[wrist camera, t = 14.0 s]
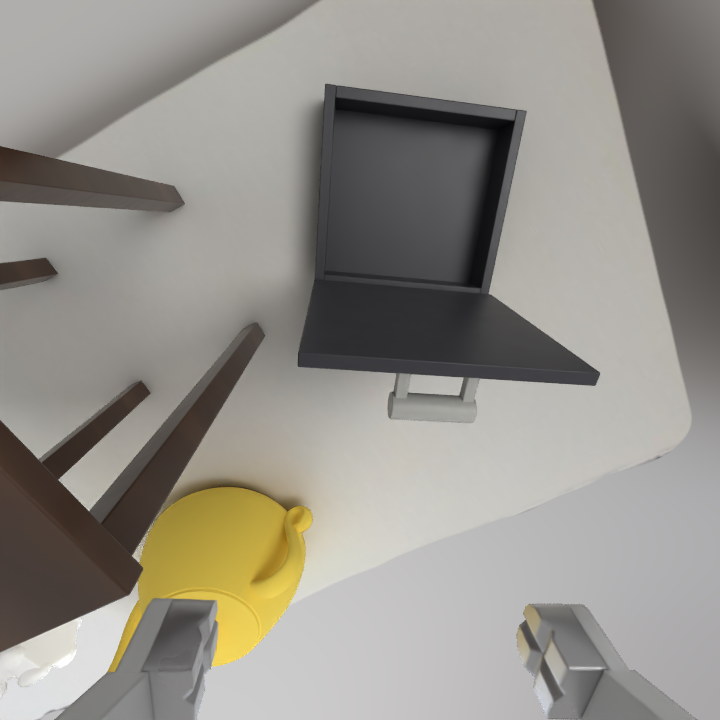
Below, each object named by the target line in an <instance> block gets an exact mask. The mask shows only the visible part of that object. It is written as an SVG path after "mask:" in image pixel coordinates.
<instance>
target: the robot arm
mask: <svg viewBox="0 0 720 720" xmlns="http://www.w3.org/2000/svg"><path fill="white" fill-rule="evenodd" d="M217 611H218V606H217V600H198V599H175V598H153V599H152V601H151V602H150V603H149V604H148V606H147V608H146V610H145V612H144V614H143V616H142V618H141V620H140V622H139V624H138V626H137V628H136V630H135V632H134V634H133V636H132V638H131V640H130V642H129V644H128V646H127V648H126V650H125V652H124V654H123V656H122V658H121V660H120V662H119V664H118V666H117V668H116V670H115V672H107V673H106V674H105V675H104V676H103V677H102V678H101V679H99V680H98V681H97V682H96V683H95V684H94V685H93V686H92V687H90V688H89V689H88V690H87V691H86V692H85V693H84V694H83V695H81V696H80V697H79V698H78V699H77V700H76V701H75V702H74V703H72V704H71V705H70V706H69V707H68V708H67V709H66V710H65V711H64V712H63V713H61V714H60V715H59V716H58V717H57V718H56V719H55V720H196V719H197V716H198V712H199V709H200V705H201V702H202V698H203V695H204V691H205V680H204V675H205V674H206V673H207V672H208V671H209V670H210V669H211V666H212V662H213V659H214V655H215V650H216V644H217V638H218V622H217V621H216V620H215V618H216V614H217ZM523 614H524V616H525V618H526V620H525V621H524V622H523V623H522V624H520V625H519V628H518V631H517V647H518V651H519V655H520V657H521V660H522V662H523V665H524V667H525V668H526V669H527V670H528V671H529V672H530V673H531V674H532V675H533V676H534V677H535V679H534V685H533V688H534V690H535V692H536V695H537V697H538V699H539V702H540V704H541V706H542V709H543V711H544V713H545V715H546V717H547V719H571V720H697V719H696V718H694V717H693V716H692V715H691V714H689V713H688V712H687V711H685V710H684V709H683V708H682V707H681V706H679V705H678V704H677V703H675V702H674V701H673V700H672V699H670V698H669V697H668V696H667V695H665V694H664V693H663V692H662V691H660V690H659V689H658V688H657V687H655V686H654V685H653V684H652V683H650V682H649V681H648V680H647V679H645V678H644V677H643V676H642V675H640V674H639V673H638V672H637V671H635V670H629V669H628V667H627V666H626V664H625V663H624V661H623V660H622V658H621V657H620V655H619V654H618V652H617V651H616V649H615V648H614V646H613V645H612V643H611V642H610V640H609V639H608V637H607V636H606V634H605V633H604V632H603V630H602V629H601V627H600V626H599V624H598V623H597V621H596V620H595V618H594V617H593V615H592V614H591V612H590V611H589V609H588V608H587V607H585V606H584V605H580V604H529V605H527V606H526V607H525V610H524V613H523Z"/></svg>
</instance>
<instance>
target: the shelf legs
mask: <svg viewBox="0 0 720 720" xmlns="http://www.w3.org/2000/svg"><path fill="white" fill-rule="evenodd" d="M0 201H6V202H22V203H37V204H53V205H68V206H84V207H99V208H114V209H130V210H145V211H161V212H171V211H173V210H175V209H176V208H178V207H180V206H182V205H184V204H185V203H184V202H183V200H182V198H181V197H180V195H179V193H178V192H177V190H176V188H175V187H174V186H171V185H167V184H163V183H158V182H154V181H149V180H145V179H141V178H136V177H132V176H128V175H123V174H119V173H115V172H110V171H106V170H101V169H97V168H93V167H88V166H84V165H80V164H75V163H71V162H67V161H62V160H58V159H53V158H49V157H45V156H40V155H36V154H32V153H27V152H23V151H18V150H14V149H10V148H5V147H1V146H0ZM57 274H58V273H57V272H56V271H55V269H54V268H53V267H52V265H51V264H50V263H49V261H48V260H47V259H46V258H41V259H33V260H24V261H16V262H8V263H0V290H4V289H9V288H14V287H19V286H24V285H29V284H34V283H39V282H44V281H46V280H48V279H49V278H51V277H53V276H55V275H57ZM264 337H265V335H264V333H263V331H262V330H261V328H260V327H259V325H258V323H254V324H252V325H250V326H248V327H246V328H244V329H243V330H242V331H241V332H240V334H239V335H238V336H237V337H236V338H235V340H234V341H233V342H232V343H231V344H230V345H229V347H228V348H227V349H226V350H225V351H224V353H223V354H222V355H221V356H220V357H219V358H218V360H217V361H216V362H215V363H214V364H213V366H212V367H211V368H210V369H209V370H208V371H207V373H206V374H205V375H204V376H203V377H202V379H201V380H200V381H199V382H198V383H197V384H196V386H195V387H194V388H193V389H192V390H191V392H190V393H189V394H188V395H187V396H186V397H185V399H184V400H183V401H182V402H181V403H180V405H179V406H178V407H177V408H176V409H175V410H174V412H173V413H172V414H171V415H170V416H169V418H168V419H167V420H166V421H165V422H164V423H163V425H162V426H161V427H160V428H159V429H158V431H157V432H156V433H155V434H154V435H153V437H152V438H151V439H150V440H149V441H148V442H147V444H146V445H145V446H144V447H143V448H142V450H141V451H140V452H139V453H138V454H137V455H136V457H135V458H134V459H133V460H132V461H131V463H130V464H129V465H128V466H127V467H126V468H125V470H124V471H123V472H122V473H121V474H120V476H119V477H118V478H117V479H116V480H115V481H114V483H113V484H112V485H111V486H110V487H109V489H108V490H107V491H106V492H105V493H104V494H103V496H102V497H101V498H100V499H99V500H98V502H97V503H96V504H95V505H94V506H93V507H92V509H91V510H90V511H89V512H90V513H91V514H92V515H93V516H94V517H95V518H96V519H97V520H98V522H99V523H100V524H101V525H102V526H103V527H104V528H105V529H106V530H107V531H108V532H109V533H110V534H111V535H112V536H113V537H114V538H115V539H116V540H117V541H118V542H119V543H120V544H121V545H122V546H123V547H124V548H125V549H126V550H127V551H128V552H129V554H130V555H131V556H132V555H133V553H134V552H135V550H136V548H137V547H138V545H139V543H140V542H141V540H142V538H143V537H144V535H145V533H146V532H147V530H148V528H149V527H150V525H151V524H152V522H153V520H154V519H155V517H156V515H157V514H158V512H159V510H160V509H161V507H162V505H163V504H164V502H165V500H166V499H167V497H168V495H169V494H170V492H171V490H172V489H173V487H174V485H175V484H176V482H177V481H178V479H179V477H180V476H181V474H182V472H183V471H184V469H185V467H186V466H187V464H188V462H189V461H190V459H191V457H192V456H193V454H194V452H195V451H196V449H197V447H198V446H199V444H200V442H201V441H202V439H203V438H204V436H205V434H206V433H207V431H208V429H209V428H210V426H211V424H212V423H213V421H214V419H215V418H216V416H217V414H218V413H219V411H220V409H221V408H222V406H223V404H224V403H225V401H226V399H227V398H228V396H229V395H230V393H231V391H232V390H233V388H234V386H235V385H236V383H237V381H238V380H239V378H240V376H241V375H242V373H243V371H244V370H245V368H246V366H247V365H248V363H249V361H250V360H251V358H252V356H253V355H254V353H255V351H256V350H257V348H258V347H259V345H260V343H261V342H262V340H263V338H264ZM149 394H150V392H149V390H148V389H147V388H146V387H145V385H144V384H143V383H142V381H140V382H138V383H136V384H134V385H132V386H130V387H128V388H127V389H125V390H124V391H123V392H122V393H120V394H119V395H118V396H117V397H115V398H114V399H113V400H112V401H110V402H109V403H108V404H107V405H106V406H104V407H103V408H102V409H101V410H99V411H98V412H97V413H96V414H94V415H93V416H92V417H91V418H89V419H88V420H87V421H86V422H84V423H83V424H82V425H81V426H79V427H78V428H77V429H76V430H74V431H73V432H72V433H71V434H69V435H68V436H67V437H66V438H64V439H63V440H62V441H61V442H59V443H58V444H57V445H56V446H54V447H53V448H52V449H51V450H49V451H48V452H47V453H46V454H44V455H43V456H42V457H41V458H39V459H38V460H39V461H40V462H41V463H42V464H43V465H44V466H45V467H46V468H47V469H48V470H49V471H50V472H51V473H52V474H53V475H54V476H55V477H56V478H57V479H59V478H60V477H62V476H63V475H64V474H65V473H66V472H67V471H68V470H69V469H70V468H71V467H72V466H73V465H74V464H75V463H77V462H78V461H79V460H80V459H81V458H82V457H83V456H84V455H85V454H86V453H87V452H88V451H89V450H90V449H92V448H93V447H94V446H95V445H96V444H97V443H98V442H99V441H100V440H101V439H102V438H103V437H104V436H105V435H107V434H108V433H109V432H110V431H111V430H112V429H113V428H114V427H115V426H116V425H117V424H118V423H119V422H120V421H122V420H123V419H124V418H125V417H126V416H127V415H128V414H129V413H130V412H131V411H132V410H133V409H134V408H135V407H136V406H138V405H139V404H140V403H141V402H142V401H143V400H144V399H145V398H146V397H147V396H148V395H149Z"/></svg>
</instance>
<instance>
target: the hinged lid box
mask: <svg viewBox="0 0 720 720" xmlns="http://www.w3.org/2000/svg"><path fill="white" fill-rule="evenodd" d="M525 116H526V111H523V110H516V109H508V108H501V107H493V106H486V105H478V104H471V103H464V102H456V101H449V100H441V99H434V98H427V97H419V96H412V95H404V94H397V93H389V92H382V91H375V90H367V89H360V88H352V87H345V86H338V85H337V86H336V85H331V84H325V98H324V117H323V136H322V154H321V173H320V192H319V210H318V229H317V248H316V267H315V279H316V280H327V281H339V282H351V283H362V284H374V285H385V286H397V287H409V288H420V289H432V290H444V291H455V292H467V293H479V294H488V293H489V289H490V284H491V279H492V274H493V269H494V265H495V260H496V255H497V250H498V246H499V241H500V236H501V231H502V226H503V222H504V217H505V212H506V207H507V203H508V198H509V193H510V188H511V183H512V179H513V174H514V169H515V164H516V159H517V155H518V150H519V145H520V140H521V136H522V131H523V126H524V121H525Z"/></svg>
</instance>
